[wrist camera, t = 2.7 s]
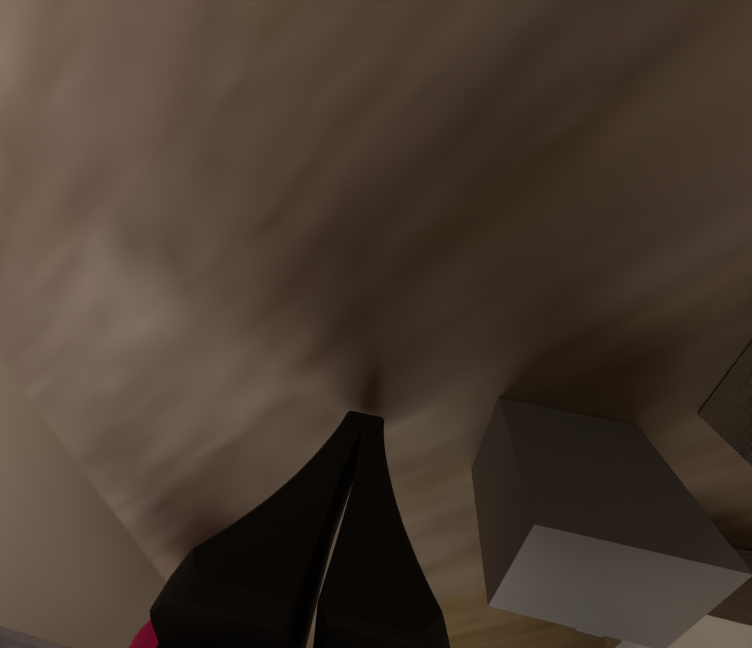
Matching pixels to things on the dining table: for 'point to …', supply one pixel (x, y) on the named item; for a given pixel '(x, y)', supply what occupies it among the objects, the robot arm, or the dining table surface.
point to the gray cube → (594, 528)
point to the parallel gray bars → (748, 602)
